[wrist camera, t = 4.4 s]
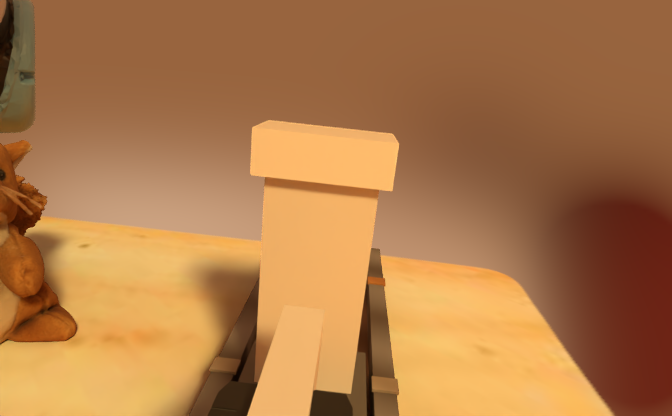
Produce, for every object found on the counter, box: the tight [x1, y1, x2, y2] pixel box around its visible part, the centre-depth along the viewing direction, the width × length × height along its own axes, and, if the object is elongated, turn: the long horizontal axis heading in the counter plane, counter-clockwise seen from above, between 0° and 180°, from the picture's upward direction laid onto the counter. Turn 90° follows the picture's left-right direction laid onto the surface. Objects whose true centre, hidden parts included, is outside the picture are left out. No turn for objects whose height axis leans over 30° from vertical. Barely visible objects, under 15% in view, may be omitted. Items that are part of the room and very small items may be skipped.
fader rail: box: [189, 248, 399, 416], centre depth 28 cm, size 26×10×3 cm, turn 177°
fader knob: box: [238, 120, 399, 416], centre depth 21 cm, size 5×7×14 cm
